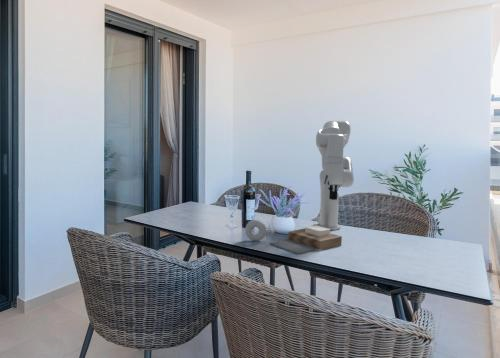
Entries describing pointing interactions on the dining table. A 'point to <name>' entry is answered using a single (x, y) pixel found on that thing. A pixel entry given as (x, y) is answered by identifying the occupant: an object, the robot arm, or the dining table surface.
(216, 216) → the dining table surface
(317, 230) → the tile
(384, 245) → the dining table surface
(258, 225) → the donut
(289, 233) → the stand
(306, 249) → the mat
